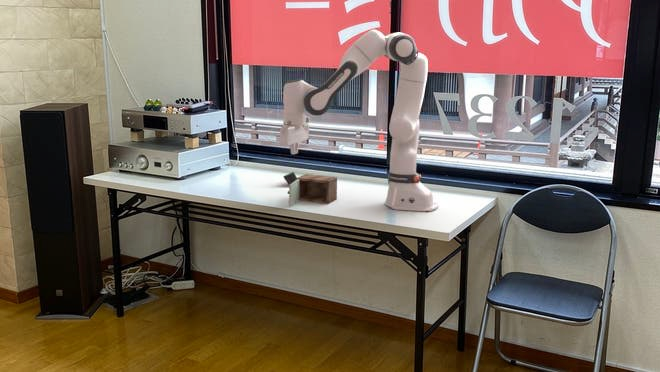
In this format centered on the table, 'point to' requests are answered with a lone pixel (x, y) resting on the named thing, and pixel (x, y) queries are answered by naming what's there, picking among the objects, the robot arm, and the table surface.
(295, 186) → the cabinet door
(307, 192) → the walnut cabinet
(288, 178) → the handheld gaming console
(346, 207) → the table surface
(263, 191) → the table surface
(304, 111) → the robot arm
